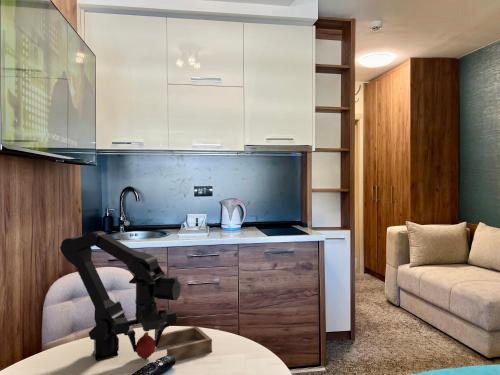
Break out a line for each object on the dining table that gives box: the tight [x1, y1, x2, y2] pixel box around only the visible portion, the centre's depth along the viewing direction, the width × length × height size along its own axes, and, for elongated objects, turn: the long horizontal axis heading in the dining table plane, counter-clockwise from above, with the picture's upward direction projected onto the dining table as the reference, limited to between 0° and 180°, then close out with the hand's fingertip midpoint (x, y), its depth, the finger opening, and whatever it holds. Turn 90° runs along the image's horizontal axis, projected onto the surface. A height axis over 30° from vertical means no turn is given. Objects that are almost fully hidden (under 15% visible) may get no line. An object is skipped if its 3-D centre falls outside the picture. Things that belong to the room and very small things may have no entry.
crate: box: [155, 325, 213, 362], centre depth 115 cm, size 14×12×4 cm
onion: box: [135, 331, 156, 360], centre depth 108 cm, size 6×6×8 cm
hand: (145, 349), depth 108 cm, fingers open, 6 cm apart
